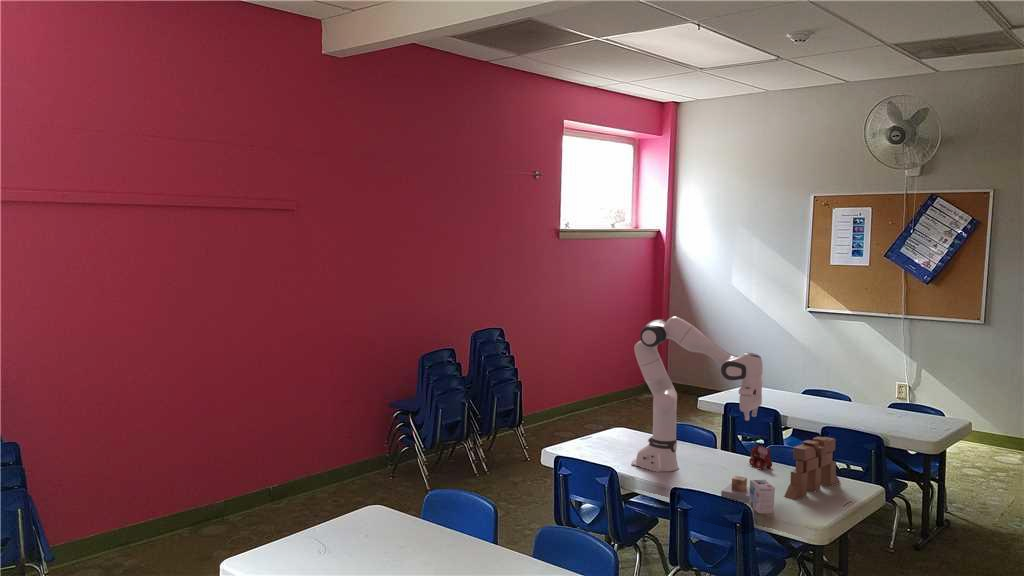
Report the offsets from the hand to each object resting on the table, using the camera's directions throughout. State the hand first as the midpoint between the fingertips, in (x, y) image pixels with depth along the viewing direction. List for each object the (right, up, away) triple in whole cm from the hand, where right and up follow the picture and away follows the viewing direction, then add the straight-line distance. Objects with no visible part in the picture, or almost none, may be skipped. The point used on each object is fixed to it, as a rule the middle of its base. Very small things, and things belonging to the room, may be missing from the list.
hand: (750, 418), depth 360 cm
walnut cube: (-11, -28, -19) cm, 35 cm away
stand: (-11, -30, -19) cm, 37 cm away
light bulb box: (-6, -32, -35) cm, 48 cm away
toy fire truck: (+12, -28, +25) cm, 39 cm away
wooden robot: (+25, -31, -9) cm, 41 cm away
